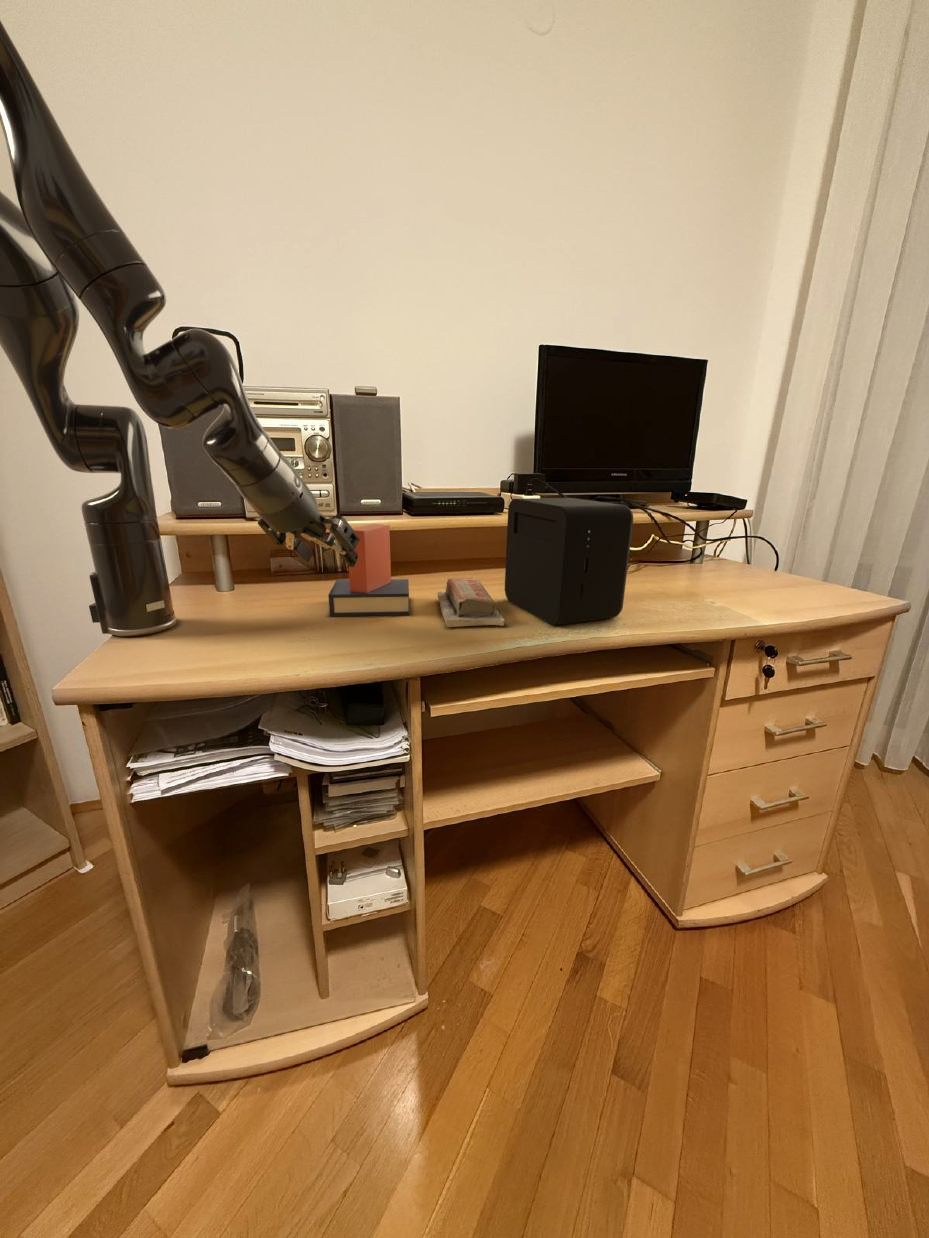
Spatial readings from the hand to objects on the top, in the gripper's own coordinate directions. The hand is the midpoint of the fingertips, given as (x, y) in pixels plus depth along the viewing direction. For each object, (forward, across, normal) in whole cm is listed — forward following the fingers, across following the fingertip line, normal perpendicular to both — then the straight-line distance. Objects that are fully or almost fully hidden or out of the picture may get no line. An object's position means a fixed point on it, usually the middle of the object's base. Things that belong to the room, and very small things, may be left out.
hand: (331, 559), depth 79 cm
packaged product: (+19, +18, +3) cm, 26 cm away
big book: (+16, 0, 0) cm, 16 cm away
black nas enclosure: (+26, +34, +10) cm, 43 cm away
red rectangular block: (+13, 0, +3) cm, 13 cm away
